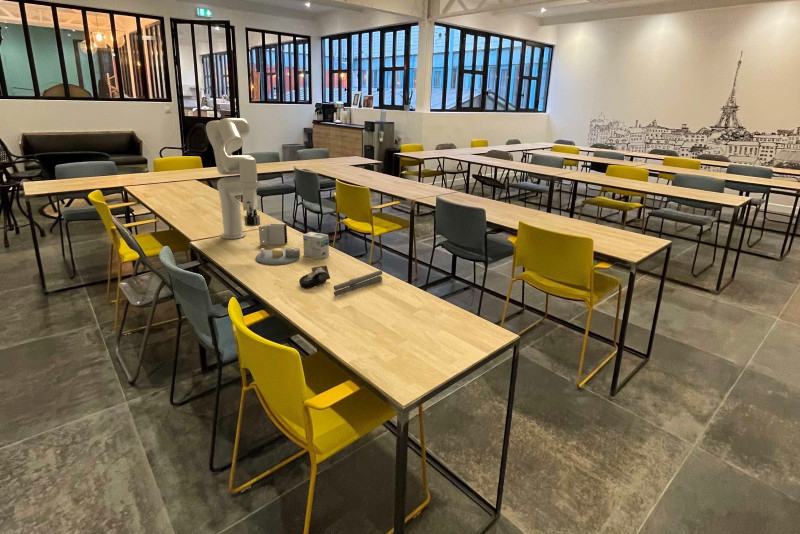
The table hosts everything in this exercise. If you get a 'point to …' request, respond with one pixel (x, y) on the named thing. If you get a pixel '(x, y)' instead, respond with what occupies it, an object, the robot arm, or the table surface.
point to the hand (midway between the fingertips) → (252, 222)
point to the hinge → (273, 234)
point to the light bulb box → (316, 245)
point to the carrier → (278, 256)
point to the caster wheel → (315, 277)
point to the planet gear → (256, 220)
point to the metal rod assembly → (357, 283)
